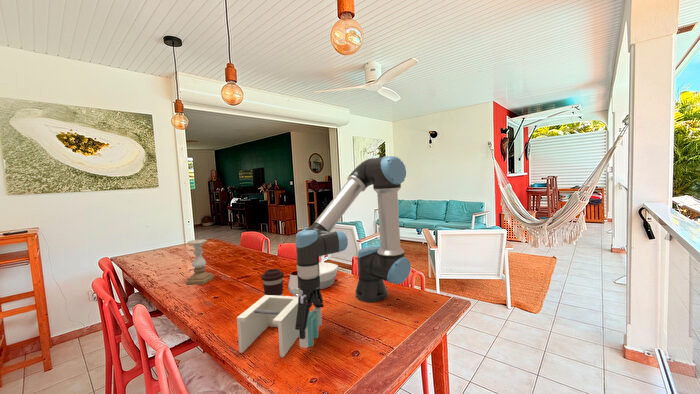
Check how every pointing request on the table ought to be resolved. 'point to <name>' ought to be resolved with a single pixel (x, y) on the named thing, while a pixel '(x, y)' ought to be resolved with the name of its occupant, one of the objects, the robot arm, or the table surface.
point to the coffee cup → (273, 282)
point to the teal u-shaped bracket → (312, 327)
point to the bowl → (327, 274)
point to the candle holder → (199, 265)
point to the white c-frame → (269, 321)
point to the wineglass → (294, 284)
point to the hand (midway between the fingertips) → (311, 335)
